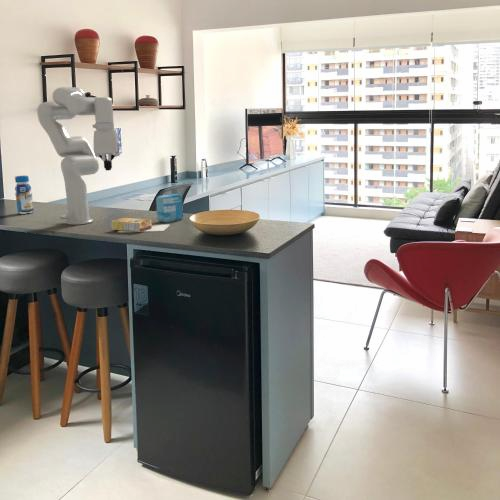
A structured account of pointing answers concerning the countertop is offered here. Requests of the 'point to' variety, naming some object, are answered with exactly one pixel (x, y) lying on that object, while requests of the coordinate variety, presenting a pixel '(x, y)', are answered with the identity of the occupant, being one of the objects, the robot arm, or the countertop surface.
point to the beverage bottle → (23, 194)
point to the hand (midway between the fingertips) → (108, 170)
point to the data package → (169, 208)
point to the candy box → (131, 224)
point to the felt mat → (154, 228)
